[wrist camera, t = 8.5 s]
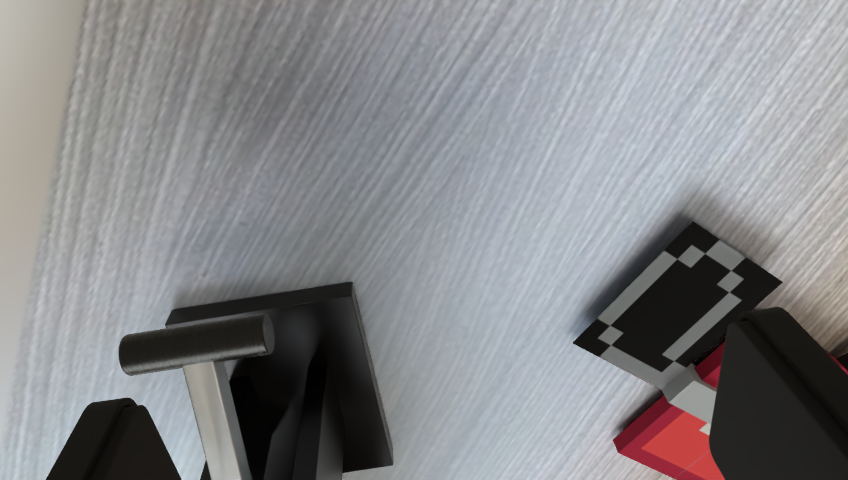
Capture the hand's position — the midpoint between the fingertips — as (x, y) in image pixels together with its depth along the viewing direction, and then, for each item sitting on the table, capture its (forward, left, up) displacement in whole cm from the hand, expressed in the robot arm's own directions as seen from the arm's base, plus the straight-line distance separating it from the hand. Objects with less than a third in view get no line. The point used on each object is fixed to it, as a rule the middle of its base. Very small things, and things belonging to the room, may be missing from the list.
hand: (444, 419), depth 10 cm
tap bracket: (+15, -8, -18) cm, 25 cm away
